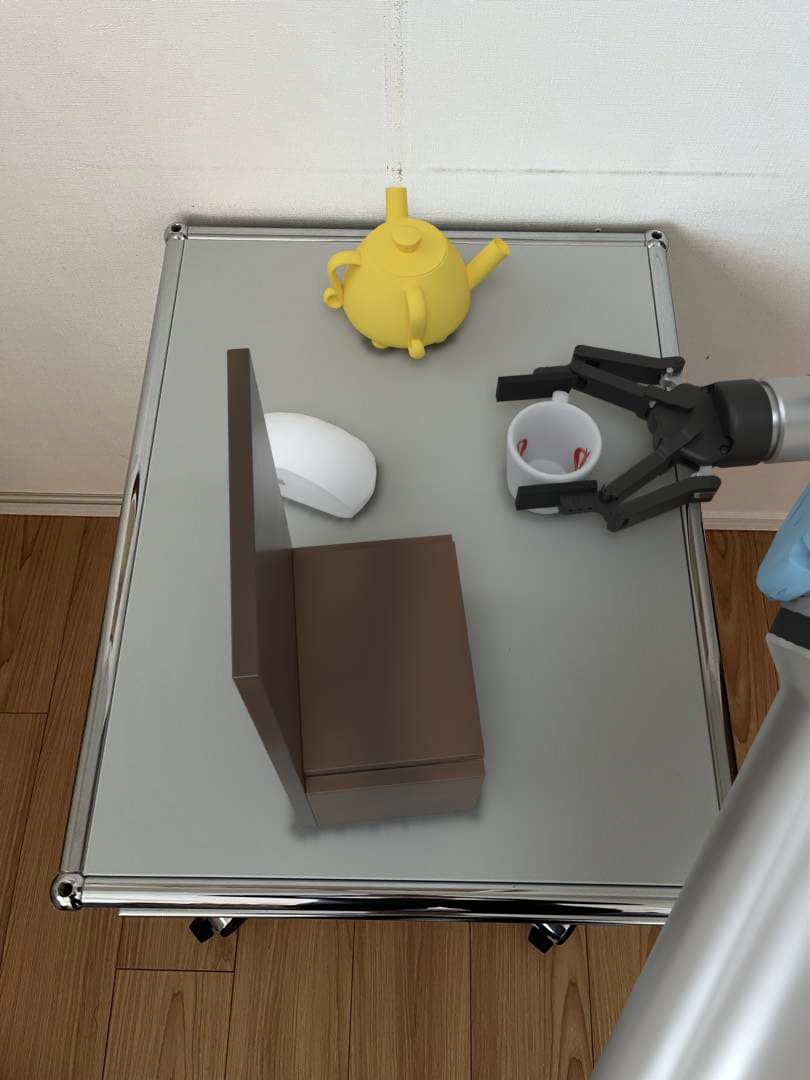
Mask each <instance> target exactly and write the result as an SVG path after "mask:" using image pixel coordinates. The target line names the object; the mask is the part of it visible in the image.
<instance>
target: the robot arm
mask: <svg viewBox="0 0 810 1080" xmlns="http://www.w3.org/2000/svg"><path fill="white" fill-rule="evenodd" d="M685 366H686V359H685V358H684V357H683V356H679V355H674V356H666V357H655V356H649V355H645V354H638V353H632V352H626V351H621V350H614V349H609V348H603V347H598V346H597V347H596V346H591V345H585V344H576V345H575V347H574V348H573V353H572V357H571V360H570V362H569V363H568V364H564V365H553V366H551V365H550V366H541V367H536V368H534V369H533V370H532V373H531V374H530V373H528V374H517V375H503V376H498V377H497V383H496V390H495V401H496V403H500V402H502V403H503V402H515V401H529V400H541V399H552V395H553V393H554V392H555V391H564V392H567V393H568V394H569V395H570V393H571V391H572V390H575V391H577V392H580V393H582V394H585V395H588V396H590V397H593V398H596V399H598V400H600V401H603V402H606V403H608V404H611V405H614V406H616V407H619V408H621V409H624V410H627V411H629V412H632V413H634V414H635V416H636V417H637V418H638V419H640V420H642V421H646V424H647V428H648V431H649V433H650V434H651V436H652V447H653V452H652V453H650V454H649V455H648V456H646V457H645V458H642V460H640V461H639V462H638V463H636V464H634V465H632V466H631V467H630V468H629V469H627V470H626V471H624V472H623V473H622V474H620V475H619V476H618V477H617V478H615V479H613V480H612V481H610V483H608V484H605V483H604V484H602V486H601V488H600V490H599V485H598V481H597V479H590V480H589V479H588V480H587V481H576V482H566V483H552V484H540V485H529V486H518V491H517V495H516V500H515V499H514V507H515V511H526V510H527V511H529V510H528V509H540V508H551V507H558V512H557V513H558V514H560V515H564V516H567V515H568V516H569V515H580V514H591V513H595V514H598V515H600V516H601V517H602V518H603V520H604V522H605V524H606V529H607V530H608V531H609V532H611V533H618V532H621V531H624V530H626V529H628V528H631V527H633V526H635V525H638V524H641V523H643V522H645V521H648V520H651V519H653V518H655V517H657V516H660V515H663V514H665V513H667V512H670V511H673V510H676V509H678V508H680V507H683V506H685V505H687V504H699V503H701V504H703V503H710V502H711V501H713V499H714V497H715V496H716V494H717V492H718V491H719V488H721V485H722V479H721V477H719V476H718V475H715V473H714V470H713V469H714V468H719V469H728V468H740V467H742V468H743V467H751V466H754V467H755V466H758V465H759V464H760V463H762V464H765V465H770V464H785V463H795V462H796V463H797V462H798V463H799V462H809V461H810V374H795V375H794V374H793V375H779V376H764V377H761V378H759V379H758V380H755V379H754V378H746V379H733V380H732V379H731V380H720V381H715V382H712V383H710V384H706V385H702V386H700V385H695V384H692V383H688V382H687V381H688V380H687V379H686V375H685V373H684V368H685ZM666 388H670V389H671V390H668V389H666ZM652 402H654V404H653V406H652V407H651V406H650V405H651V403H652ZM677 465H680V466H681V467H684V468H686V469H688V470H690V471H693V473H692V474H690V476H689V477H686V478H682V479H681V480H680V479H679V480H678V481H675V482H672V483H669V484H668V485H665V486H662V487H660V488H658V489H655V490H653V491H650V492H648V493H645V494H643V495H640V496H637V497H636V498H633V499H630V500H627V499H628V498H630V497H632V496H633V495H634V494H635V493H636V492H638V491H639V490H641V489H642V488H643V487H645V486H646V485H648V484H649V483H650V482H652V481H653V480H655V479H656V478H657V477H661V476H662V475H665V474H666V473H667V472H668V471H670V470H671V469H673V468H674V467H675V466H677ZM625 500H627V501H625ZM624 501H625V502H624ZM756 585H757V587H758V589H759V591H760V592H761V593H763V594H764V595H765V596H766V598H767V600H768V601H769V602H779V603H780V606H779V609H778V611H777V613H776V615H775V618H774V620H773V621H772V623H771V626H770V628H769V630H768V632H767V633H766V636H765V638H764V639H765V642H766V644H767V647H768V650H769V653H770V655H771V658H772V660H773V663H774V666H775V668H776V672H777V674H778V680H779V681H778V682H779V689H778V691H777V693H776V696H775V697H774V700H773V701H772V703H771V705H770V708H769V709H768V712H767V714H766V716H765V717H764V720H763V721H762V724H761V726H760V728H759V730H758V732H757V734H756V737H754V740H753V742H752V744H751V746H750V748H749V751H748V752H747V755H746V756H745V759H744V761H743V763H742V765H741V767H740V769H739V771H738V772H737V775H736V777H735V779H734V781H733V783H732V785H731V787H730V789H729V791H728V794H727V795H726V798H725V800H724V802H723V803H722V806H721V808H720V809H719V812H718V814H717V816H716V818H715V820H714V822H713V824H712V826H711V828H710V830H709V831H708V833H707V837H706V838H705V841H704V842H703V845H702V846H701V848H700V851H699V853H698V855H697V857H696V859H695V861H694V863H693V864H692V867H691V868H690V871H689V873H688V875H687V877H686V879H685V881H684V883H683V885H682V887H681V889H680V891H679V893H678V895H677V898H676V900H675V902H674V904H673V905H672V908H671V909H670V911H669V914H668V916H667V918H666V920H665V922H664V924H663V926H662V928H661V930H660V932H659V934H658V936H657V938H656V940H655V943H654V945H653V947H652V948H651V951H650V953H649V955H648V957H647V959H646V961H645V962H644V965H643V967H642V969H641V971H640V973H639V975H638V977H637V979H636V981H635V983H634V985H633V987H632V989H631V991H630V993H629V995H628V998H627V999H626V1001H625V1003H624V1006H623V1008H622V1010H621V1012H620V1014H619V1016H618V1018H617V1020H616V1022H615V1024H614V1026H613V1028H612V1029H611V1032H610V1034H609V1035H608V1038H607V1040H606V1043H605V1044H604V1047H603V1049H602V1051H601V1053H600V1055H599V1057H598V1059H597V1061H596V1063H595V1065H594V1067H593V1069H592V1071H591V1073H590V1075H589V1077H588V1079H587V1080H810V481H809V482H808V483H807V485H806V486H805V488H804V489H803V491H802V492H801V494H800V495H799V496H798V498H797V499H796V501H795V502H794V504H793V506H792V508H791V509H790V510H789V511H788V514H787V515H786V517H785V518H784V520H783V521H782V523H781V525H780V526H779V528H778V530H777V532H776V533H775V535H774V538H773V540H772V541H771V545H770V547H769V548H768V550H767V552H766V554H765V556H764V557H763V559H762V561H761V562H760V565H759V568H758V570H757V574H756Z"/></svg>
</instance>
